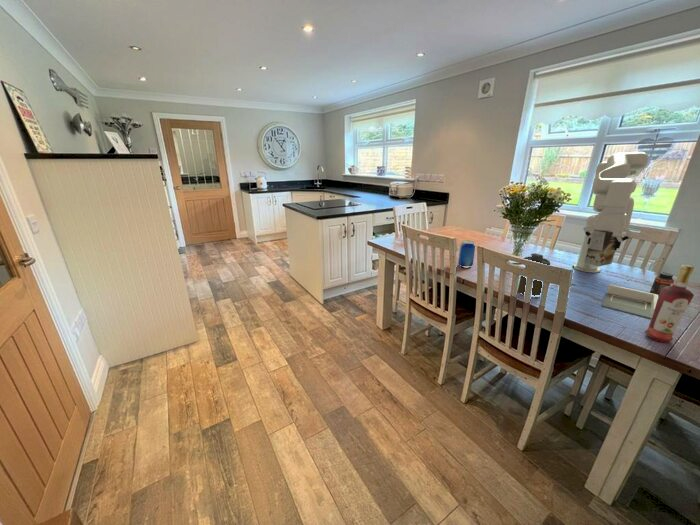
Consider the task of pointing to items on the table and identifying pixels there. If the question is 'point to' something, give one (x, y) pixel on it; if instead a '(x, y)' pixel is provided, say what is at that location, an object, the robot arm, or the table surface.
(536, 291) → the canister
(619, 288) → the corner arena
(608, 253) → the coffee box
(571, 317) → the table surface
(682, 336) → the table surface
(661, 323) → the liquor
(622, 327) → the table surface
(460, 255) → the beer can
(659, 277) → the supplement bottle
